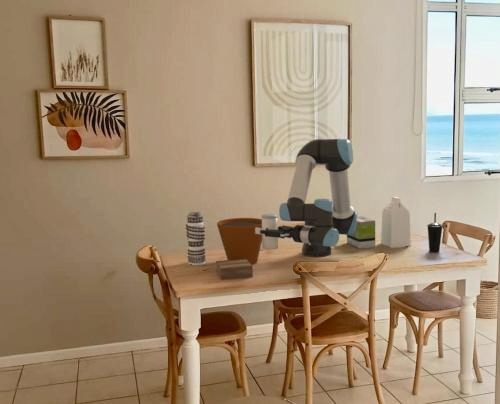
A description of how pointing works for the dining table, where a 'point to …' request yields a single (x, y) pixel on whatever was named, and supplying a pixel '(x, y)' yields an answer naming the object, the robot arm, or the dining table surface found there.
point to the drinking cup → (434, 236)
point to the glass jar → (272, 224)
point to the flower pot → (241, 238)
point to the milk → (395, 225)
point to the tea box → (363, 233)
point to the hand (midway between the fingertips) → (261, 229)
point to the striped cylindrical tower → (195, 238)
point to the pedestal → (234, 269)
